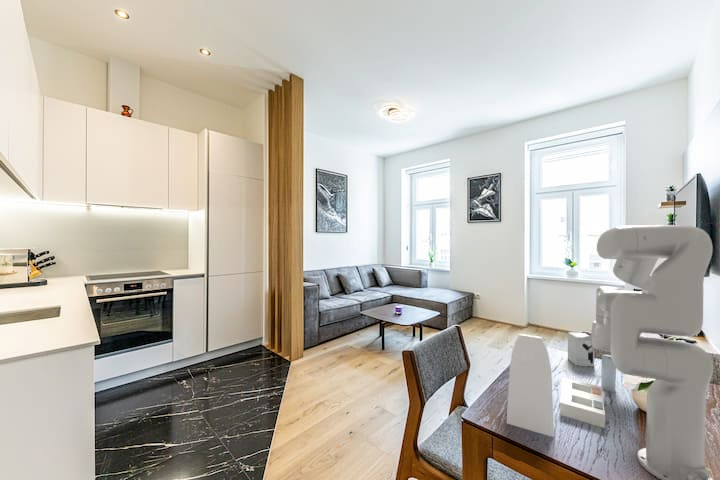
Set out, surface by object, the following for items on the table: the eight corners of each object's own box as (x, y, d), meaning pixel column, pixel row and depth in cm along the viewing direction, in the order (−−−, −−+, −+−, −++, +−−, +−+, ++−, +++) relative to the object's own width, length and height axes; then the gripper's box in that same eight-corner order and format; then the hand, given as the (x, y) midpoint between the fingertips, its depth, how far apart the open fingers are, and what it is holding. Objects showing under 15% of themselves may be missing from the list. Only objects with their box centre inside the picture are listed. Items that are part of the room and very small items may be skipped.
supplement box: (594, 367, 125) (595, 338, 125) (575, 365, 127) (575, 337, 127) (585, 360, 132) (585, 332, 132) (567, 358, 134) (567, 331, 134)
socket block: (605, 428, 86) (605, 413, 86) (559, 414, 92) (560, 401, 92) (600, 398, 102) (600, 385, 102) (562, 388, 108) (562, 376, 108)
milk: (551, 415, 92) (552, 333, 92) (553, 437, 82) (554, 345, 82) (509, 404, 98) (509, 327, 98) (506, 423, 88) (507, 338, 88)
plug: (618, 391, 106) (618, 359, 105) (607, 391, 106) (607, 359, 106) (609, 386, 110) (609, 354, 109) (598, 386, 110) (598, 354, 110)
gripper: (639, 321, 105) (638, 368, 106) (579, 313, 116) (578, 356, 116) (643, 327, 99) (641, 376, 100) (579, 318, 110) (578, 363, 110)
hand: (608, 365), depth 108 cm, fingers open, 9 cm apart
